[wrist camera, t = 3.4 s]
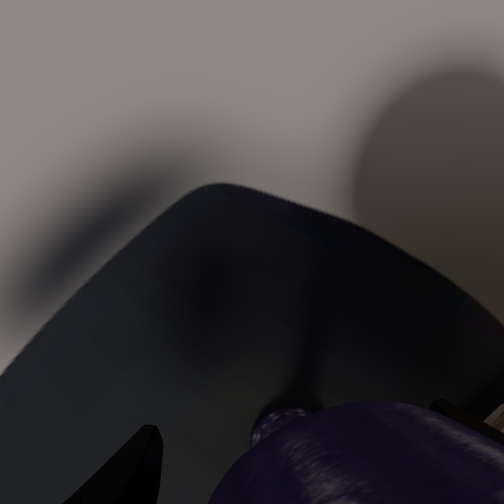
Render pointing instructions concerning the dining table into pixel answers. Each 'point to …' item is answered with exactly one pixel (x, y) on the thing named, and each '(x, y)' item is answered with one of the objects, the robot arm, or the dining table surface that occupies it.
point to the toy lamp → (364, 459)
